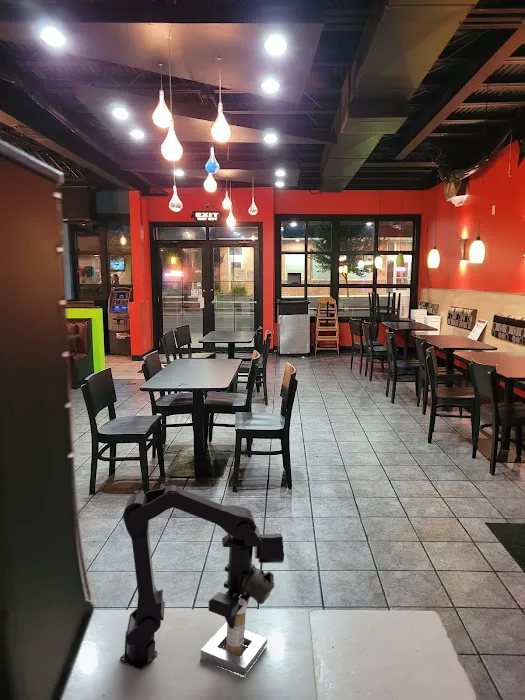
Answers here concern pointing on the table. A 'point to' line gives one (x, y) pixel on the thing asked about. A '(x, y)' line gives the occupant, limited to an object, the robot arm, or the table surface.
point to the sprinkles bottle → (237, 632)
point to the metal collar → (228, 660)
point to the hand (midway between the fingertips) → (236, 622)
